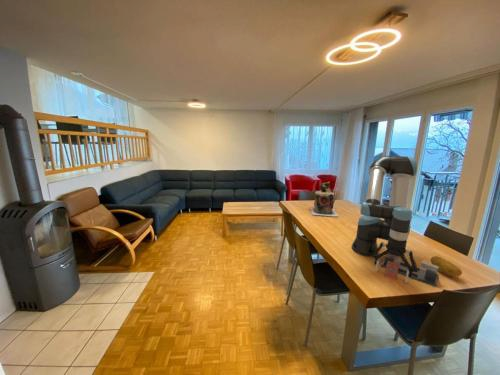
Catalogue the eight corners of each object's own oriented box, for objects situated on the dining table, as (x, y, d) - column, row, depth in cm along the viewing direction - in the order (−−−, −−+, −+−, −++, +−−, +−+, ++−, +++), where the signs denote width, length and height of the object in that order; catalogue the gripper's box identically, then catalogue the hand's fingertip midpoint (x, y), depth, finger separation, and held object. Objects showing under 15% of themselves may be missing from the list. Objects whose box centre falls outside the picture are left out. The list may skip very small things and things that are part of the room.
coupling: (394, 281, 104) (397, 269, 102) (383, 277, 107) (385, 265, 106) (397, 275, 109) (399, 263, 108) (386, 271, 113) (389, 259, 111)
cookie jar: (308, 208, 222) (311, 179, 216) (332, 209, 219) (335, 180, 213) (312, 216, 199) (315, 183, 192) (339, 217, 195) (343, 184, 189)
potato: (450, 281, 105) (453, 268, 104) (425, 265, 119) (428, 253, 118) (463, 281, 106) (466, 268, 104) (437, 265, 120) (440, 253, 118)
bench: (380, 266, 117) (382, 253, 115) (385, 258, 125) (387, 246, 123) (436, 287, 100) (440, 272, 99) (438, 276, 109) (441, 262, 107)
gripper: (368, 232, 109) (363, 268, 114) (429, 249, 93) (419, 290, 97) (372, 228, 115) (367, 263, 119) (430, 243, 98) (421, 283, 102)
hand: (390, 275), depth 108 cm, fingers open, 12 cm apart
